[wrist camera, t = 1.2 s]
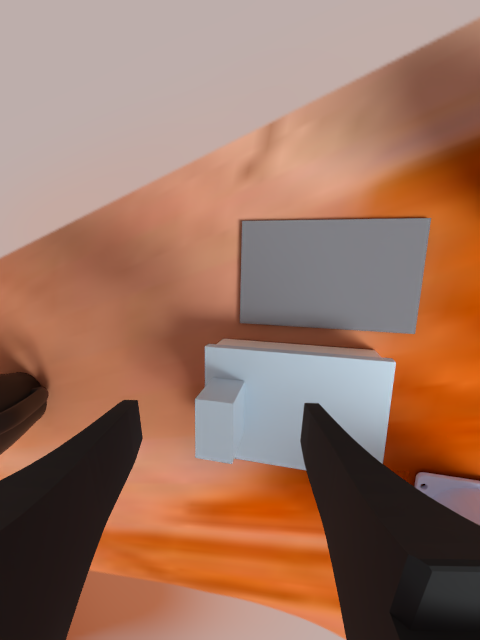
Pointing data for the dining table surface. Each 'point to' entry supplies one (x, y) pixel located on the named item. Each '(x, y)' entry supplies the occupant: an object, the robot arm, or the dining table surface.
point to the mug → (19, 406)
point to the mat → (334, 273)
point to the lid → (287, 402)
